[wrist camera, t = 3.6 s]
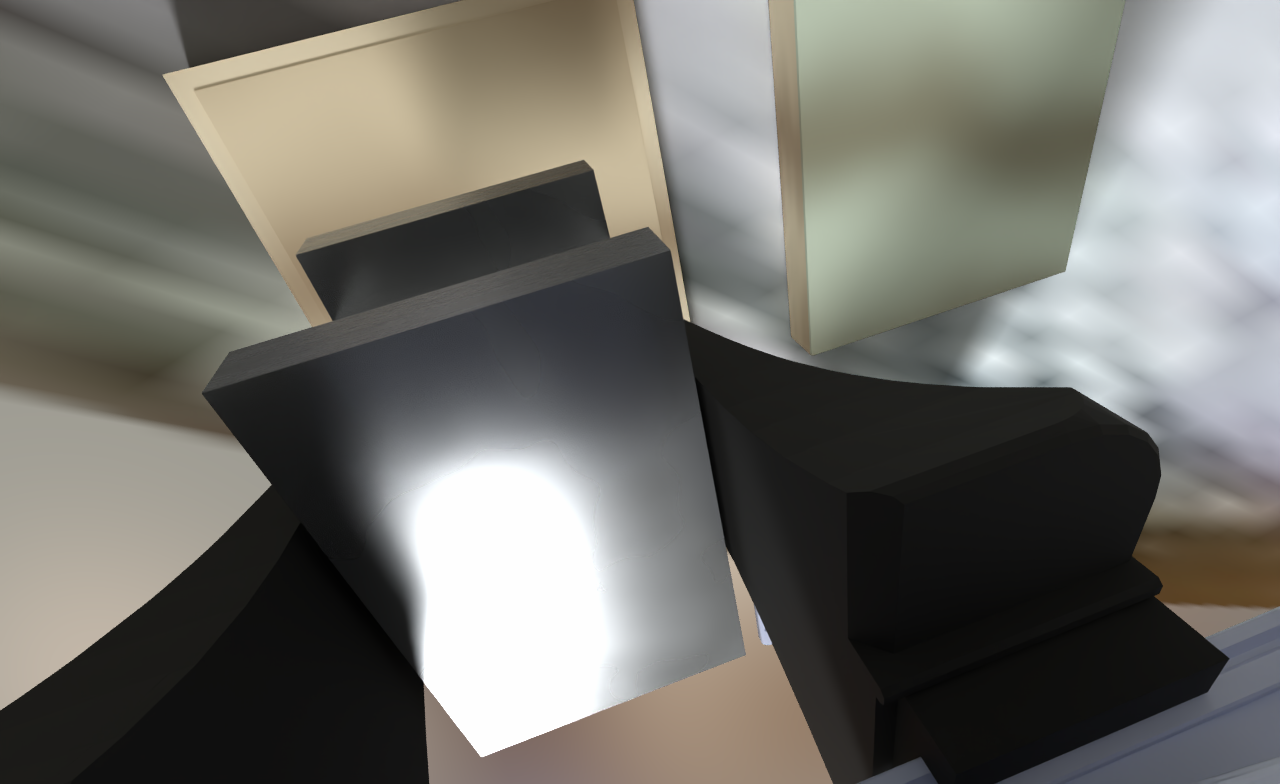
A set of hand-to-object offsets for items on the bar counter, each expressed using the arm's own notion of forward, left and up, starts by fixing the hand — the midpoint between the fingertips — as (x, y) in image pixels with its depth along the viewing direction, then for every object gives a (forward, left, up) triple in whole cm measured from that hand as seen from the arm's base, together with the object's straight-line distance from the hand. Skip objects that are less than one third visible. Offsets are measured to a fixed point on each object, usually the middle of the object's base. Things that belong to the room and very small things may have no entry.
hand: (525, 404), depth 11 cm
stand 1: (0, 0, -8) cm, 8 cm away
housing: (0, 0, -1) cm, 1 cm away
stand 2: (0, -14, -8) cm, 16 cm away
